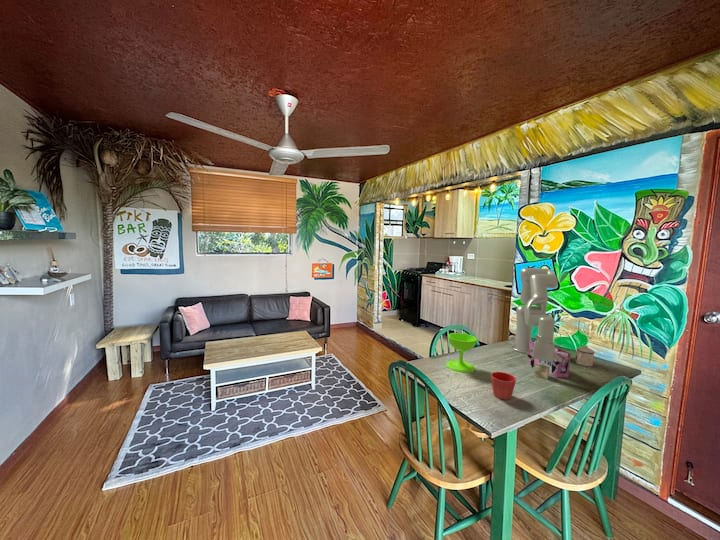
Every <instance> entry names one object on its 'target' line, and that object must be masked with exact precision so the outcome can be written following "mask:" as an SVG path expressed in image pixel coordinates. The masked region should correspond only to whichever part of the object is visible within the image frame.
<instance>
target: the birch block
mask: <svg viewBox="0 0 720 540" xmlns="http://www.w3.org/2000/svg"><path fill="white" fill-rule="evenodd" d="M534 366H535V367H534V377H536V378H541V379H544V380H548V378H549V375H550V373H549V368H550V366H549V365H545V364H541V363H537V364H536V365H534Z"/></svg>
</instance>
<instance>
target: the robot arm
mask: <svg viewBox="0 0 720 540" xmlns="http://www.w3.org/2000/svg"><path fill="white" fill-rule="evenodd" d="M519 275H520V281H521V289H520V296H519V297H520V302H521V303H522V304H523V305H522V304H521V305H518V306H517V307H516V329H515V330H516V331H515V340H514V341H512V340H511V341H510V340H508V345H510V346H512V348H511V349H512V350H514V351H516V352H519V353H524V354H526V355H527V357H528V359H529V358H530V360H531V363H530V366H531V368H535V367H534V366H535V365H534V359H539V360H543V361H547V362H551V363H552V364H553V365H552V373H553V372H554V371H555V368H556V365H558V364H559V363H560V362H561V361H562V358H560V357H559V356H557V355H556V354H555V347H556V346H555V343H554V334H555V323H556V321H555V319H554V317H553V316H552V315H550V314H547V308H548V299H549V295H548V289H555V288H557V286H558V283H559V282H558V278H557V275H556V274H555V273H554V271H552V270H551V269H550V268H541V267H539V268H537V267H524V268H521V270H520V273H519ZM533 327H536V328H537V334H536V335H535V334H534V336H533V338H535V339H536V340H534V341H535V343H534V347H533V349H532V350H529V349H530V341H532V334H533V333H532V332H533ZM531 352H533V357H532V356H531V355H530V353H531ZM555 358H557V359H558V361H557V362H555V361H554V359H555Z"/></svg>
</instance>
